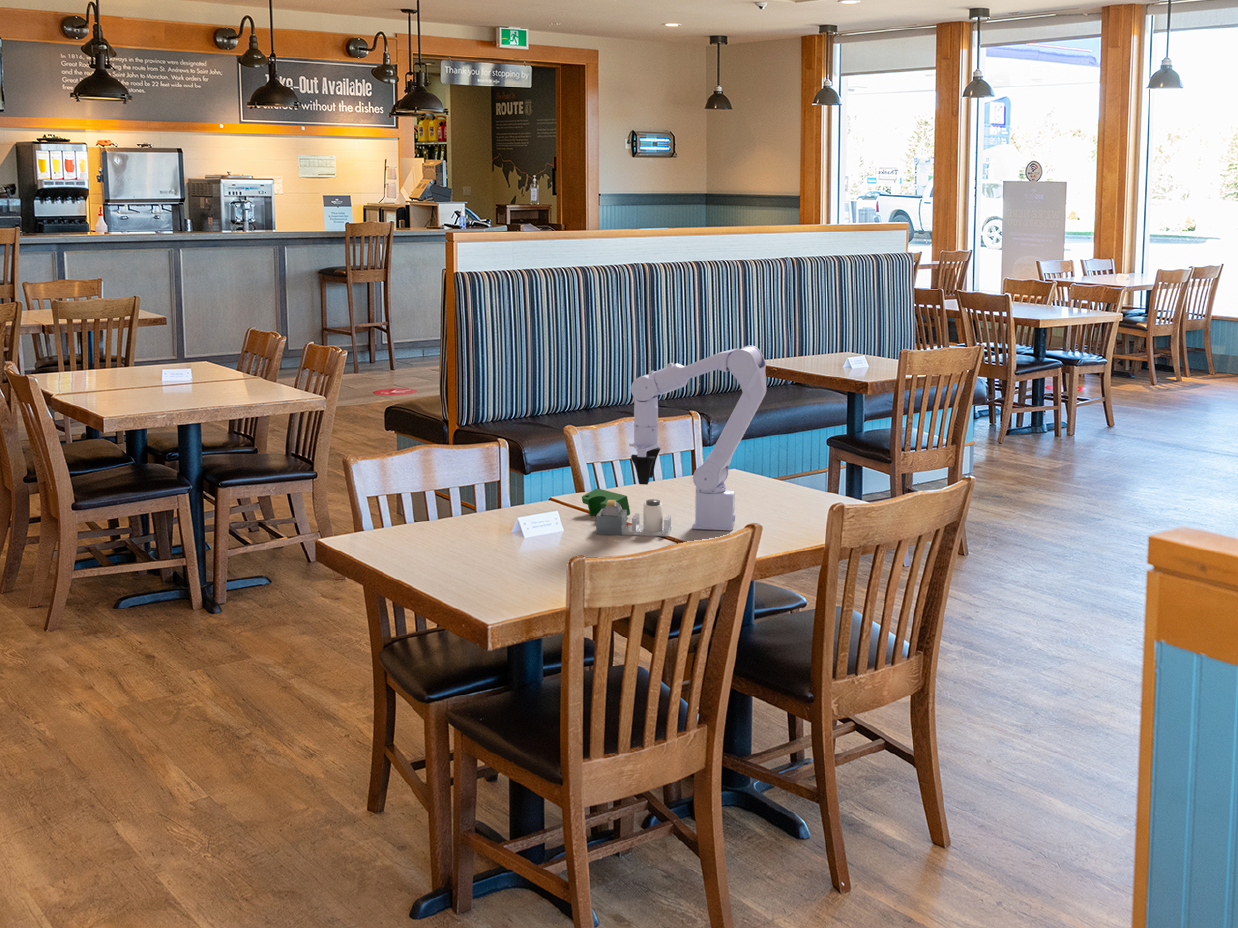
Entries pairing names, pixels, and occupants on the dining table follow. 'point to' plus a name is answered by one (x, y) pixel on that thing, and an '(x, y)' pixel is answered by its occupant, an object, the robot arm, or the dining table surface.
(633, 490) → the dining table surface
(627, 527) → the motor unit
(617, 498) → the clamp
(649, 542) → the dining table surface
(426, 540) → the dining table surface
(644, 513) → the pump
